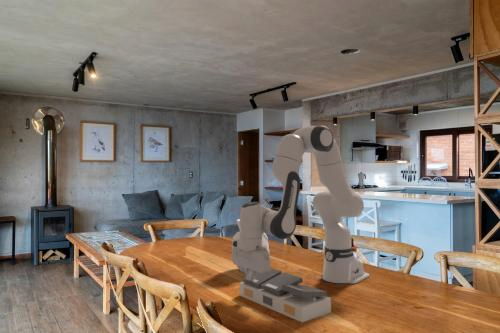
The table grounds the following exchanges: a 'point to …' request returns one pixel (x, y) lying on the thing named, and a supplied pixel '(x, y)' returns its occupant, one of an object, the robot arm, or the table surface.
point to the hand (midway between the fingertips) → (250, 280)
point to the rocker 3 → (304, 290)
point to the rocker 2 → (280, 283)
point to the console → (288, 303)
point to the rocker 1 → (262, 278)
